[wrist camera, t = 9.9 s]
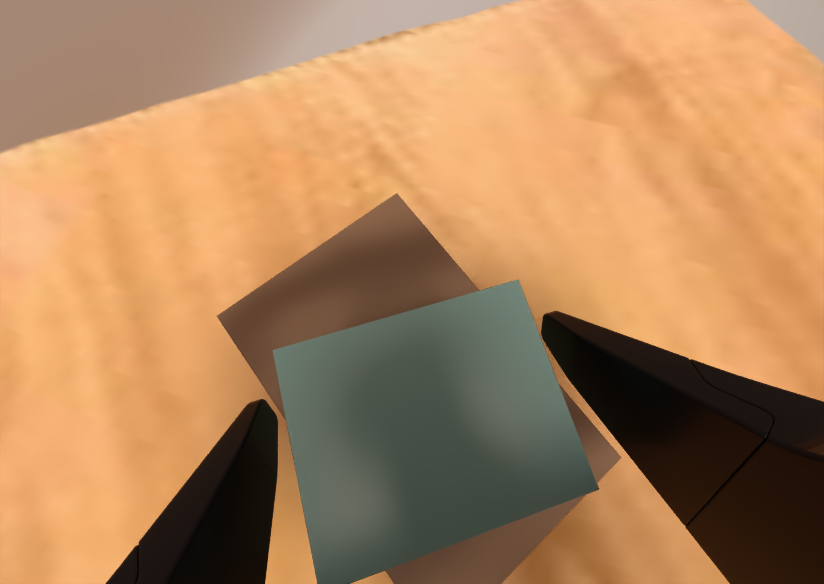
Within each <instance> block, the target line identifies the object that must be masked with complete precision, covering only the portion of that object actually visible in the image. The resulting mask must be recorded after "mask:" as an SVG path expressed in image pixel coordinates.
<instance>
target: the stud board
mask: <svg viewBox="0 0 824 584" xmlns="http://www.w3.org/2000/svg"><path fill="white" fill-rule="evenodd" d="M477 291H479V289H478V288H477V287H476V286H475V285H474V284H473V282H472V281H471V280H470V279H469V278H468V277H467V275H466V274H465V273H464V272H463V271H462V269H461V268H460V267H459V266H458V265H457V264H456V262H455V261H454V260H453V259H452V258H451V256H450V255H449V254H448V253H447V252H446V251H445V249H444V248H443V247H442V246H441V245H440V244H439V242H438V241H437V240H436V239H435V238H434V236H433V235H432V234H431V233H430V232H429V231H428V229H427V228H426V227H425V226H424V225H423V224H422V222H421V221H420V220H419V219H418V218H417V216H416V215H415V214H414V213H413V212H412V211H411V209H410V208H409V207H408V206H407V205H406V204H405V202H404V201H403V200H402V199H401V198H400V196H399V195H398V194H397V193H396V194H395V195H393V196H392V197H391V198H389V199H388V200H386V201H385V202H383V203H382V204H380V205H379V206H377V207H376V208H374V209H373V210H371V211H370V212H369V213H367V214H366V215H364V216H363V217H361V218H360V219H358V220H357V221H355V222H354V223H352V224H351V225H349V226H348V227H347V228H345V229H344V230H342V231H341V232H339V233H338V234H336V235H335V236H333V237H332V238H330V239H329V240H328V241H326V242H325V243H323V244H322V245H320V246H319V247H317V248H316V249H314V250H313V251H311V252H310V253H308V254H307V255H306V256H304V257H303V258H301V259H300V260H298V261H297V262H295V263H294V264H292V265H291V266H289V267H288V268H286V269H285V270H284V271H282V272H281V273H279V274H278V275H276V276H275V277H273V278H272V279H270V280H269V281H267V282H266V283H265V284H263V285H262V286H260V287H259V288H257V289H256V290H254V291H253V292H251V293H250V294H248V295H247V296H245V297H244V298H243V299H241V300H240V301H238V302H237V303H235V304H234V305H232V306H231V307H229V308H228V309H226V310H225V311H223V312H222V313H221V314H219V315H218V316H217V317H218V319H219V320H220V322H221V323H222V325H223V326H224V328H225V329H226V331H227V332H228V334H229V335H230V337H231V338H232V340H233V341H234V343H235V344H236V346H237V347H238V349H239V350H240V352H241V354H242V355H243V357H244V358H245V360H246V361H247V363H248V364H249V366H250V367H251V369H252V370H253V372H254V373H255V375H256V376H257V378H258V379H259V381H260V382H261V384H262V385H263V387H264V388H265V390H266V391H267V393H268V394H269V396H270V397H271V399H272V400H273V402H274V403H275V405H276V406H277V408H278V409H279V411H280V412H281V414H282V415H283V417H284V418H285V412H284V407H283V402H282V397H281V392H280V386H279V381H278V376H277V371H276V366H275V360H274V355H273V350H275V349H278V348H282V347H285V346H289V345H292V344H296V343H299V342H303V341H306V340H310V339H313V338H317V337H320V336H324V335H327V334H331V333H334V332H338V331H341V330H344V329H348V328H351V327H355V326H358V325H362V324H365V323H369V322H372V321H376V320H379V319H383V318H386V317H390V316H393V315H397V314H400V313H404V312H407V311H411V310H414V309H418V308H421V307H424V306H428V305H431V304H435V303H438V302H442V301H445V300H449V299H452V298H456V297H459V296H463V295H466V294H470V293H473V292H477ZM559 386H560V385H559ZM560 389H561V392H562V394H563V397H564V399H565V402H566V405H567V407H568V410H569V412H570V415H571V418H572V420H573V423H574V425H575V428H576V431H577V433H578V436H579V438H580V441H581V444H582V446H583V449H584V451H585V454H586V457H587V459H588V462H589V464H590V467H591V470H592V472H593V475H594V477H595V480H596V483H598V481H599V480H600V479H601V478H602V477H603V476H604V475H605V474H606V473H607V472H608V471H609V470H610V469H611V468H612V467H613V466H614V465H615V464H616V463H617V462H618V461H619V460H620V458H621V457H620V455H619V454H618V453H617V452H616V451H615V450H614V448H613V447H612V446H611V445H610V444H609V442H608V441H607V440H606V439H605V438H604V437H603V435H602V434H601V433H600V432H599V431H598V430H597V428H596V427H595V426H594V425H593V424H592V422H591V421H590V420H589V419H588V418H587V417H586V415H585V414H584V413H583V412H582V411H581V410H580V408H579V407H578V406H577V405H576V404H575V402H574V401H573V400H572V399H571V398H570V397H569V395H568V394H567V393H566V392H565V391H564V390H563V388H562V387H561V386H560ZM285 420H286V418H285ZM584 496H585V495H583V496H580V497H578V498H575V499H572V500H570V501H567V502H564V503H562V504H559V505H557V506H554V507H551V508H549V509H546V510H543V511H541V512H538V513H535V514H533V515H530V516H527V517H525V518H522V519H519V520H517V521H514V522H512V523H509V524H506V525H504V526H501V527H498V528H496V529H493V530H490V531H488V532H485V533H482V534H480V535H477V536H474V537H472V538H469V539H467V540H464V541H461V542H459V543H456V544H453V545H451V546H448V547H445V548H443V549H440V550H437V551H435V552H432V553H430V554H427V555H424V556H422V557H419V558H416V559H414V560H411V561H408V562H406V563H403V564H400V565H398V566H395V567H392V568H390V569H387V570H385V571H386V572H387V574H388V575H389V577H390V578H391V580H392V581H393V583H394V584H501V583H502V582H503V581H504V580H505V579H506V578H507V577H508V576H509V575H510V574H511V573H512V571H513V570H514V569H515V568H516V567H517V566H518V565H519V564H520V563H521V562H522V561H523V560H524V559H525V558H526V557H527V556H528V555H529V554H530V553H531V552H532V551H533V550H534V548H535V547H536V546H537V545H538V544H539V543H540V542H541V541H542V540H543V539H544V538H545V537H546V536H547V535H548V534H549V533H550V532H551V531H552V530H553V529H554V528H555V526H556V525H557V524H558V523H559V522H560V521H561V520H562V519H563V518H564V517H565V516H566V515H567V514H568V513H569V512H570V511H571V510H572V509H573V508H574V507H575V506H576V505H577V503H578V502H579V501H580V500H581V499H582V498H583V497H584Z"/></svg>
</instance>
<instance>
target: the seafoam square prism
mask: <svg viewBox="0 0 824 584" xmlns="http://www.w3.org/2000/svg"><path fill="white" fill-rule="evenodd" d="M273 355H274V360H275V366H276V371H277V376H278V381H279V386H280V392H281V397H282V402H283V407H284V412H285V418H286V423H287V428H288V433H289V438H290V444H291V449H292V454H293V459H294V464H295V470H296V475H297V480H298V485H299V490H300V496H301V501H302V506H303V511H304V516H305V522H306V527H307V532H308V537H309V542H310V548H311V553H312V558H313V563H314V568H315V574H316V579H317V584H350V583H353V582H355V581H358V580H361V579H363V578H366V577H369V576H371V575H374V574H377V573H379V572H382V571H385V570H387V569H390V568H392V567H395V566H398V565H400V564H403V563H406V562H408V561H411V560H414V559H416V558H419V557H422V556H424V555H427V554H430V553H432V552H435V551H437V550H440V549H443V548H445V547H448V546H451V545H453V544H456V543H459V542H461V541H464V540H467V539H469V538H472V537H474V536H477V535H480V534H482V533H485V532H488V531H490V530H493V529H496V528H498V527H501V526H504V525H506V524H509V523H512V522H514V521H517V520H519V519H522V518H525V517H527V516H530V515H533V514H535V513H538V512H541V511H543V510H546V509H549V508H551V507H554V506H557V505H559V504H562V503H564V502H567V501H570V500H572V499H575V498H578V497H580V496H583V495H586V494H588V493H591V492H594V491H596V490H599V488H598V485H597V483H596V480H595V477H594V475H593V472H592V470H591V467H590V464H589V462H588V459H587V457H586V454H585V451H584V449H583V446H582V444H581V441H580V438H579V436H578V433H577V431H576V428H575V425H574V423H573V420H572V418H571V415H570V412H569V410H568V407H567V405H566V402H565V399H564V397H563V394H562V392H561V389H560V386H559V384H558V381H557V379H556V376H555V373H554V371H553V368H552V366H551V363H550V360H549V358H548V355H547V353H546V350H545V347H544V345H543V342H542V340H541V337H540V335H539V332H538V329H537V327H536V324H535V322H534V319H533V316H532V314H531V311H530V309H529V306H528V303H527V301H526V298H525V296H524V293H523V290H522V288H521V285H520V283H519V280H515V281H511V282H508V283H504V284H501V285H497V286H494V287H491V288H487V289H484V290H480V291H477V292H473V293H470V294H466V295H463V296H459V297H456V298H452V299H449V300H445V301H442V302H438V303H435V304H431V305H428V306H424V307H421V308H418V309H414V310H411V311H407V312H404V313H400V314H397V315H393V316H390V317H386V318H383V319H379V320H376V321H372V322H369V323H365V324H362V325H358V326H355V327H351V328H348V329H344V330H341V331H338V332H334V333H331V334H327V335H324V336H320V337H317V338H313V339H310V340H306V341H303V342H299V343H296V344H292V345H289V346H285V347H282V348H278V349H275V350H273Z"/></svg>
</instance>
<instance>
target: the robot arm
mask: <svg viewBox="0 0 824 584" xmlns="http://www.w3.org/2000/svg"><path fill="white" fill-rule="evenodd" d="M541 334H542V338H543V340H544V342H545V343H546V345H547V346H548V348H549V350H550V351H551V353H552V354H553V356H554V357H555V359H556V361H557V362H558V364H559V365H560V367H561V368H562V370H563V372H564V373H565V375H566V376H567V378H568V379H569V380H570V382H571V383H572V384H573V386H574V387H575V388H576V389H577V391H578V392H579V393H580V394H581V396H582V397H583V398H584V399H585V401H586V402H587V403H588V405H589V406H590V407H591V408H592V410H593V411H594V412H595V413H596V415H597V416H598V417H599V418H600V420H601V421H602V422H603V423H604V425H605V426H606V427H607V429H608V430H609V431H610V432H611V434H612V435H613V436H614V437H615V439H616V440H617V441H618V442H619V444H620V445H621V446H622V447H623V449H624V450H625V451H626V453H627V454H628V455H629V456H630V458H631V459H632V460H633V461H634V463H635V464H636V465H637V466H638V468H639V469H640V470H641V471H642V473H643V474H644V475H645V477H646V478H647V479H648V480H649V482H650V483H651V484H652V485H653V487H654V488H655V489H656V490H657V492H658V493H659V494H660V495H661V497H662V498H663V499H664V501H665V502H666V503H667V504H668V506H669V507H670V508H671V509H672V511H673V512H674V513H675V514H676V516H677V517H678V518H679V519H680V521H681V522H682V523H683V524H684V525H685V526H686V529H687V530H688V531H689V532H690V534H691V535H692V536H693V537H694V539H695V540H696V541H697V543H698V544H699V545H700V546H701V548H702V549H703V550H704V551H705V553H706V554H707V555H708V556H709V558H710V559H711V560H712V561H713V563H714V564H715V565H716V567H717V568H718V569H719V570H720V572H721V573H722V574H723V575H724V577H725V578H726V579H727V580H728V582H729V583H730V584H824V402H823V401H820V400H816V399H813V398H810V397H806V396H803V395H800V394H796V393H793V392H790V391H787V390H783V389H780V388H777V387H773V386H770V385H767V384H764V383H761V382H757V381H754V380H751V379H748V378H745V377H742V376H738V375H735V374H732V373H730V372H727V371H724V370H721V369H718V368H715V367H712V366H709V365H706V364H704V363H701V362H698V361H695V360H692V359H690V360H689V359H688V358H687V357H684V356H681V355H678V354H676V353H673V352H670V351H667V350H664V349H662V348H659V347H656V346H653V345H651V344H648V343H645V342H642V341H639V340H637V339H634V338H631V337H628V336H625V335H623V334H620V333H617V332H614V331H612V330H609V329H606V328H603V327H600V326H598V325H595V324H592V323H589V322H586V321H584V320H581V319H578V318H575V317H573V316H570V315H567V314H564V313H561V312H558V311H553V312H550V313H546V314H544V316H543V320H542V330H541ZM277 469H278V420H277V416H276V414H275V413H274V411H273V410H272V409H271V407H270V406H269V404H268V403H267V402H266V401H265V400H264V399H260V400H257V401H254V402H250V403H249V404H247V406H246V407H245V408H244V409H243V411H242V412H241V413H240V414H239V416H238V417H237V418H236V419H235V421H234V422H233V423H232V424H231V426H230V427H229V428H228V430H227V431H226V432H225V433H224V435H223V436H222V437H221V438H220V440H219V441H218V442H217V443H216V445H215V446H214V447H213V449H212V450H211V451H210V452H209V454H208V455H207V456H206V457H205V459H204V460H203V461H202V463H201V464H200V465H199V466H198V468H197V469H196V470H195V471H194V473H193V474H192V475H191V476H190V478H189V479H188V480H187V482H186V483H185V484H184V485H183V487H182V488H181V489H180V490H179V492H178V493H177V494H176V496H175V497H174V498H173V499H172V501H171V502H170V503H169V504H168V506H167V507H166V508H165V509H164V511H163V512H162V513H161V515H160V516H159V517H158V518H157V520H156V521H155V522H154V523H153V525H152V526H151V527H150V529H149V530H148V531H147V532H146V534H145V535H144V536H143V537H142V539H141V540H140V541H139V545H137V546H135V547H134V549H133V550H132V551H131V552H130V554H129V555H128V556H127V558H126V559H125V560H124V561H123V563H122V564H121V565H120V566H119V568H118V569H117V570H116V571H115V573H114V574H113V575H112V576H111V578H110V579H109V580H108V581H107V582H106V584H265V580H266V571H267V562H268V553H269V545H270V536H271V527H272V518H273V510H274V501H275V492H276V483H277Z"/></svg>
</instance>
